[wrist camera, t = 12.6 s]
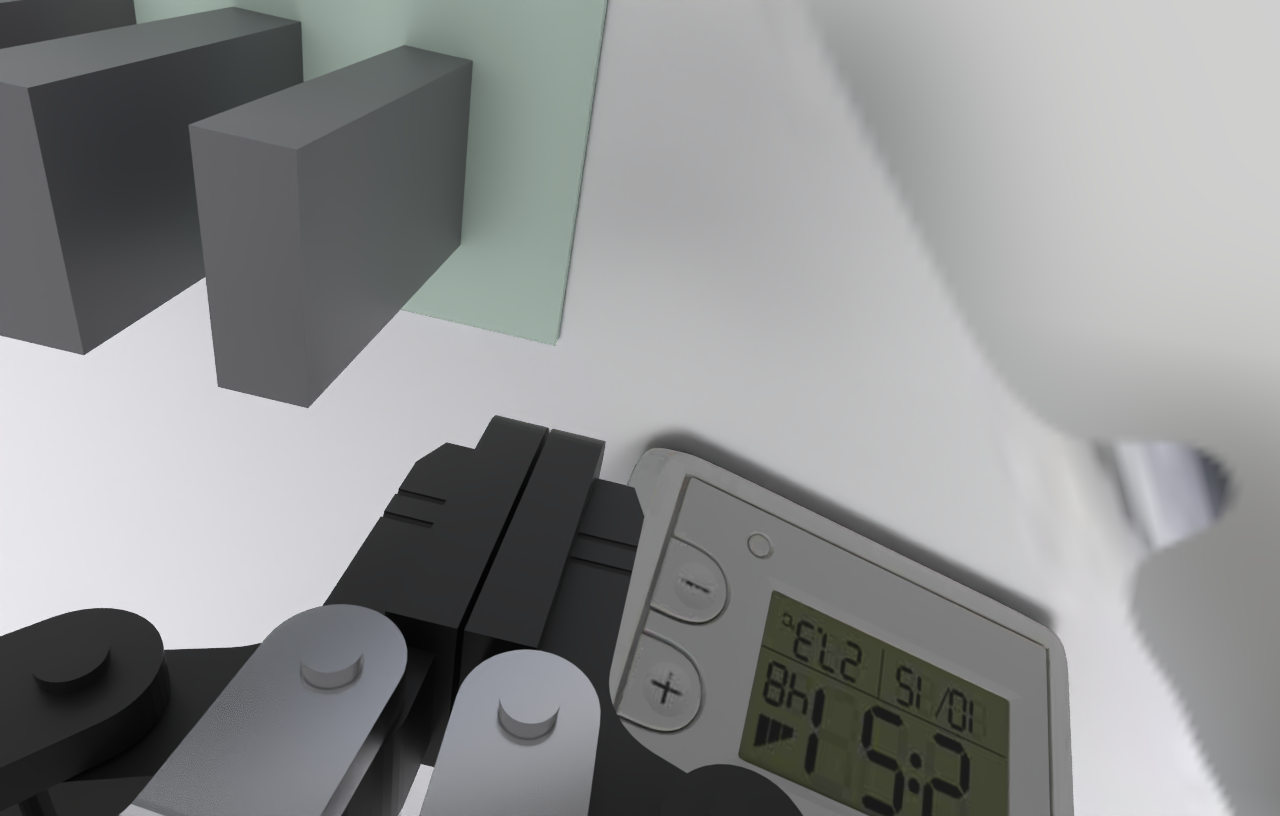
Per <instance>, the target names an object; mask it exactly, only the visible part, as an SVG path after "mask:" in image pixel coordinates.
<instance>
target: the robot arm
mask: <svg viewBox="0 0 1280 816" xmlns="http://www.w3.org/2000/svg"><path fill="white" fill-rule="evenodd" d="M604 450H605V441H602V440H598V439H594V438H590V437H585V436H581V435H577V434H573V433H569V432H565V431H560V430H556V429H552V430H551V432H550V434H549V428H547V427H543V426H539V425H535V424H530V423H526V422H522V421H518V420H514V419H510V418H505V417H501V416H497V415H495V416H494V417H493V418H492V420H491V421H490V423H489V425H488V427H487V428H486V430H485V432H484V434H483V435H482V437H481V439H480V441H479V443H478V444H477V446H476V448H475V449H472V448H467V447H463V446H459V445H455V444H451V443H445V444H443V445H442V446H440V447H439V448H437V449H436V450H434V451H432V452H431V453H429V454H428V455H426V456H425V457H423V458H421V459H420V460H418V461H417V462H416V463H415V464H414V466H413V468H412V469H411V471H410V472H409V474H408V475H407V477H406V478H405V480H404V481H403V483H402V485H401V486H400V488H399V491H398V494H395V495H394V497H393V498H392V500H391V501H390V503H389V505H388V506H387V508H386V509H385V511H384V515H383V517H380V518H379V520H378V522H377V523H376V525H375V526H374V528H373V529H372V531H371V532H370V534H369V535H368V537H367V539H366V540H365V542H364V543H363V545H362V546H361V548H360V549H359V551H358V552H357V554H356V555H355V557H354V559H353V560H352V562H351V563H350V565H349V566H348V568H347V569H346V571H345V572H344V574H343V576H342V577H341V579H340V580H339V582H338V583H337V585H336V586H335V588H334V589H333V591H332V593H331V594H330V596H329V597H328V599H327V600H326V602H325V603H324V604H323V606H320V607H316V608H313V609H309V610H306V611H304V612H302V613H299V614H297V615H295V616H293V617H291V618H289V619H288V620H286V621H284V622H283V623H282V624H280V625H279V626H278V627H277V628H275V629H274V630H273V631H272V632H271V633H270V634H269V635H268V636H267V637H266V639H265V640H264V641H263V642H262V643H259V644H254V645H249V646H243V647H231V648H206V649H177V650H164V647H163V642H162V639H161V637H160V634H159V632H158V631H157V629H156V628H155V627H154V625H153V624H151V623H150V622H149V621H148V620H146V619H145V618H143V617H141V616H139V615H137V614H135V613H131V612H128V611H125V610H119V609H112V608H94V609H84V610H78V611H73V612H69V613H65V614H62V615H58V616H55V617H52V618H49V619H47V620H44V621H41V622H38V623H36V624H33V625H30V626H28V627H25V628H22V629H19V630H17V631H14V632H11V633H9V634H6V635H3V636H0V816H400V812H401V809H402V807H403V805H404V803H405V800H406V798H407V796H408V793H409V791H410V788H411V786H412V784H413V781H414V779H415V776H416V774H417V772H418V769H419V767H420V764H424V765H428V766H432V767H434V770H433V773H432V777H431V780H430V783H429V786H428V789H427V793H426V796H425V799H424V802H423V806H422V809H421V812H420V815H419V816H803V815H802V813H801V812H800V810H799V809H798V807H797V806H796V805H795V804H794V802H793V801H792V800H791V799H790V797H789V796H788V795H787V794H786V793H785V792H784V791H783V790H782V789H781V788H780V787H779V786H777V785H776V784H775V783H773V782H772V781H771V780H769V779H768V778H766V777H764V776H762V775H761V774H759V773H757V772H755V771H752V770H750V769H747V768H744V767H740V766H735V765H730V764H713V765H706V766H703V767H700V768H697V769H694V770H692V771H690V772H689V773H686V772H684V771H683V770H681V769H680V768H678V767H676V766H675V765H673V764H671V763H670V762H668V761H666V760H665V759H663V758H661V757H660V756H658V755H656V754H655V753H653V752H652V751H650V750H649V749H648V748H646V747H645V746H643V745H642V744H641V743H640V742H639V741H638V740H636V739H635V738H634V737H633V736H632V735H631V734H630V732H629V731H628V730H627V729H626V728H625V726H624V725H623V723H622V722H621V720H620V718H619V717H618V715H617V713H616V711H615V708H614V706H613V704H612V700H611V695H610V688H609V678H610V670H611V666H612V661H613V657H614V652H615V648H616V643H617V639H618V634H619V630H620V625H621V621H622V616H623V612H624V607H625V603H626V598H627V594H628V589H629V585H630V580H631V575H632V571H633V566H634V562H635V557H636V553H637V548H638V544H639V539H640V535H641V530H642V526H643V521H644V514H643V511H642V508H641V505H640V502H639V499H638V496H637V493H636V490H635V488H634V487H630V486H626V485H622V484H618V483H614V482H609V481H605V480H601V479H599V475H600V470H601V465H602V460H603V455H604Z"/></svg>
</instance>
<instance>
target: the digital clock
mask: <svg viewBox="0 0 1280 816" xmlns="http://www.w3.org/2000/svg"><path fill="white" fill-rule="evenodd" d="M627 486H630V487H634V488H635V490H636V493H637V496H638V499H639V502H640V505H641V508H642V511H643V514H644V521H643V526H642V530H641V535H640V539H639V544H638V548H637V553H636V557H635V562H634V566H633V571H632V575H631V580H630V585H629V589H628V594H627V598H626V603H625V607H624V612H623V616H622V621H621V625H620V630H619V634H618V639H617V643H616V648H615V652H614V657H613V661H612V666H611V670H610V678H609V688H610V695H611V700H612V704H613V706H614V708H615V711H616V713H617V715H618V717H619V718H620V720H621V722H622V723H623V725H624V726H625V728H626V729H627V730H628V731H629V732H630V734H631V735H632V736H633V737H634V738H635V739H636V740H638V741H639V742H640V743H641V744H642V745H643V746H645V747H646V748H648V749H649V750H650V751H652V752H653V753H655V754H656V755H658V756H660V757H661V758H663V759H665V760H666V761H668V762H670V763H671V764H673V765H675V766H676V767H678V768H680V769H681V770H683V771H684V772H686V773H689V772H690V771H692V770H694V769H697V768H700V767H703V766H706V765H713V764H730V765H735V766H740V767H744V768H747V769H750V770H752V771H755V772H757V773H759V774H761V775H762V776H764V777H766V778H768V779H769V780H771V781H772V782H773V783H775V784H776V785H777V786H779V787H780V788H781V789H782V790H783V791H784V792H785V793H786V794H787V795H788V796H789V797H790V799H791V800H792V801H793V802H794V804H795V805H796V806H797V807H798V809H799V810H800V812H801V813H802V815H803V816H1074V805H1073V780H1072V756H1071V731H1070V707H1069V682H1068V667H1067V659H1066V654H1065V650H1064V647H1063V645H1062V643H1061V641H1060V639H1059V638H1058V637H1057V635H1056V634H1055V633H1053V632H1052V631H1051V630H1049V629H1048V628H1047V627H1045V626H1043V625H1041V624H1040V623H1038V622H1036V621H1034V620H1032V619H1030V618H1028V617H1027V616H1025V615H1023V614H1021V613H1019V612H1017V611H1015V610H1013V609H1011V608H1009V607H1007V606H1005V605H1003V604H1001V603H999V602H997V601H995V600H993V599H991V598H989V597H987V596H985V595H983V594H981V593H979V592H977V591H975V590H973V589H970V588H968V587H966V586H964V585H962V584H960V583H958V582H956V581H954V580H952V579H950V578H948V577H946V576H944V575H942V574H940V573H938V572H936V571H934V570H932V569H929V568H927V567H925V566H923V565H921V564H919V563H917V562H915V561H913V560H911V559H909V558H907V557H905V556H903V555H901V554H899V553H897V552H895V551H893V550H890V549H888V548H886V547H884V546H882V545H880V544H878V543H876V542H874V541H872V540H870V539H868V538H866V537H864V536H862V535H860V534H858V533H856V532H854V531H851V530H849V529H847V528H845V527H843V526H841V525H839V524H837V523H835V522H833V521H831V520H829V519H827V518H825V517H823V516H821V515H819V514H817V513H815V512H812V511H810V510H808V509H806V508H804V507H802V506H800V505H798V504H796V503H794V502H792V501H790V500H788V499H786V498H784V497H782V496H780V495H778V494H776V493H773V492H771V491H769V490H767V489H765V488H763V487H761V486H759V485H757V484H755V483H753V482H751V481H749V480H747V479H744V478H742V477H740V476H738V475H736V474H734V473H732V472H730V471H728V470H725V469H723V468H721V467H719V466H717V465H714V464H712V463H710V462H708V461H706V460H703V459H701V458H699V457H696V456H693V455H691V454H687V453H683V452H679V451H675V450H670V449H666V448H651V449H650V450H648V451H646V452H645V453H644V454H643V455H642V456H641V458H640V459H639V461H638V462H637V464H636V466H635V468H634V470H633V472H632V474H631V477H630V479H629V481H628V484H627Z"/></svg>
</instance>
